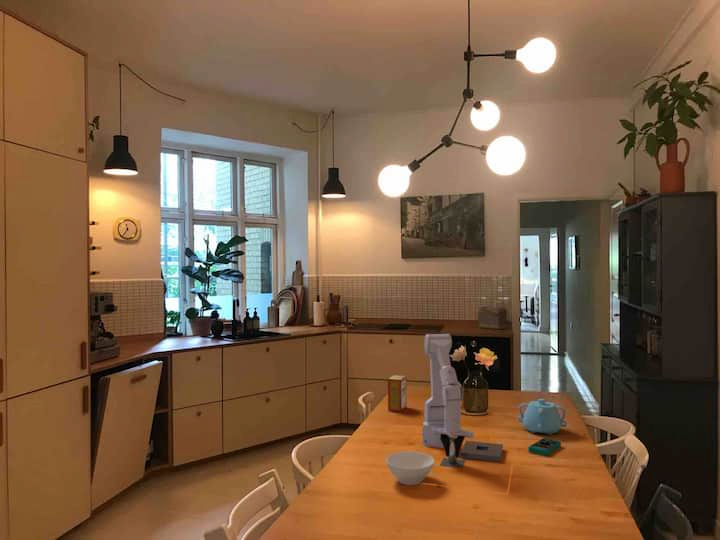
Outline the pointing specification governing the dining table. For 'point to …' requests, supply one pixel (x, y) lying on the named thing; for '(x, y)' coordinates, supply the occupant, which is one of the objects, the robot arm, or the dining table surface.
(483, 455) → the chuck block
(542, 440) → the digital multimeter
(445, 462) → the key mat
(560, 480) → the dining table surface
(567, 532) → the dining table surface
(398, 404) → the baking soda box
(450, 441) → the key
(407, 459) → the bowl
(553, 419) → the decorative pot
